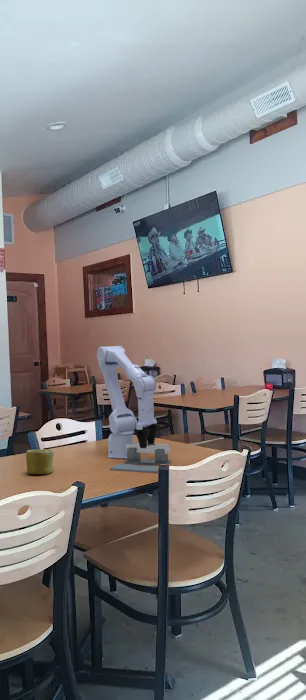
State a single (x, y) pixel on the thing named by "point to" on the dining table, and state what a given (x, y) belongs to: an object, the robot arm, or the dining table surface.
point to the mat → (135, 468)
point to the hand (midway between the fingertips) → (147, 446)
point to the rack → (135, 459)
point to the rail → (148, 447)
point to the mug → (39, 461)
